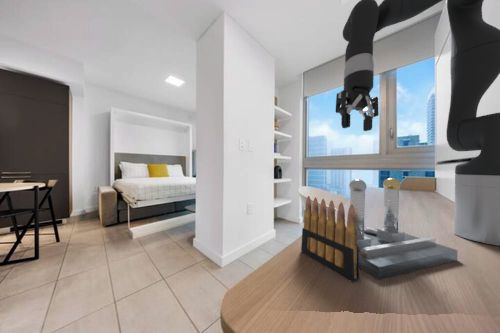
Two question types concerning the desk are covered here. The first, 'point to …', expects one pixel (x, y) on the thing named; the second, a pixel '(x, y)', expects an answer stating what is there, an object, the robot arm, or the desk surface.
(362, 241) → the silver ball-topped post
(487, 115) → the robot arm
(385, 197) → the gold topped lever
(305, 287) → the desk surface
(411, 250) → the plate
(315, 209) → the ammunition clip
